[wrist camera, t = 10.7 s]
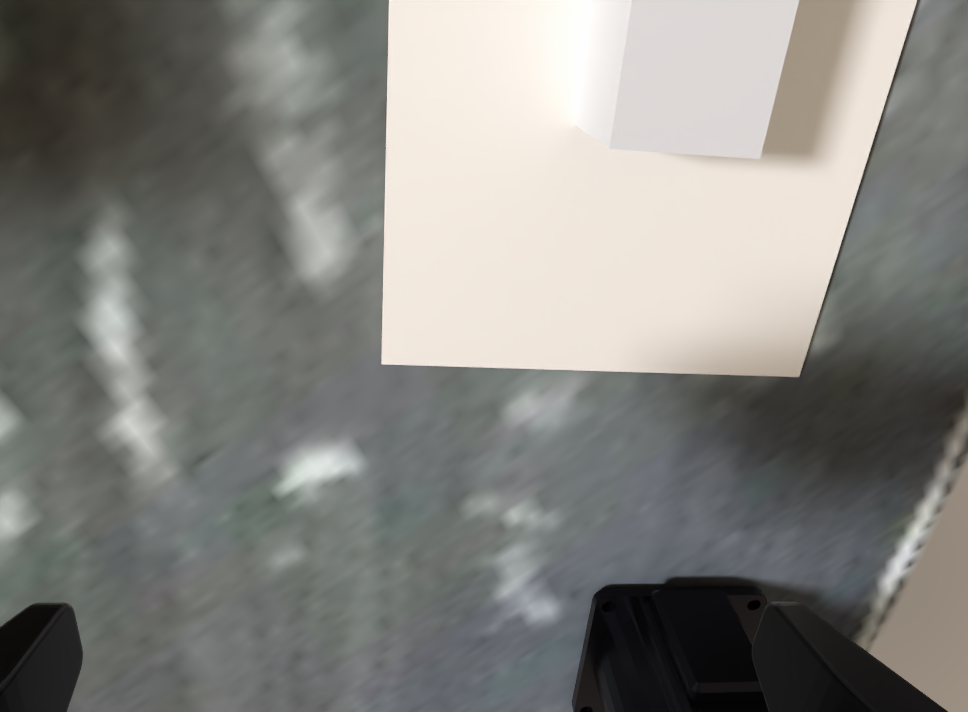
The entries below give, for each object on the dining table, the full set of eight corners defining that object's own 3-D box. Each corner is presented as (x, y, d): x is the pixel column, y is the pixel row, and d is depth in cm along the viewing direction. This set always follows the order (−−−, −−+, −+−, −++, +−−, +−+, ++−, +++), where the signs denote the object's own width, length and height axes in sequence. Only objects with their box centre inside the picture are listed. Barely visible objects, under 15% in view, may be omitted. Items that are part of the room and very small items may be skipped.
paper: (796, 374, 22) (799, 377, 22) (382, 361, 21) (381, 364, 20) (1037, -403, 14) (1045, -408, 14) (399, -520, 13) (400, -526, 13)
